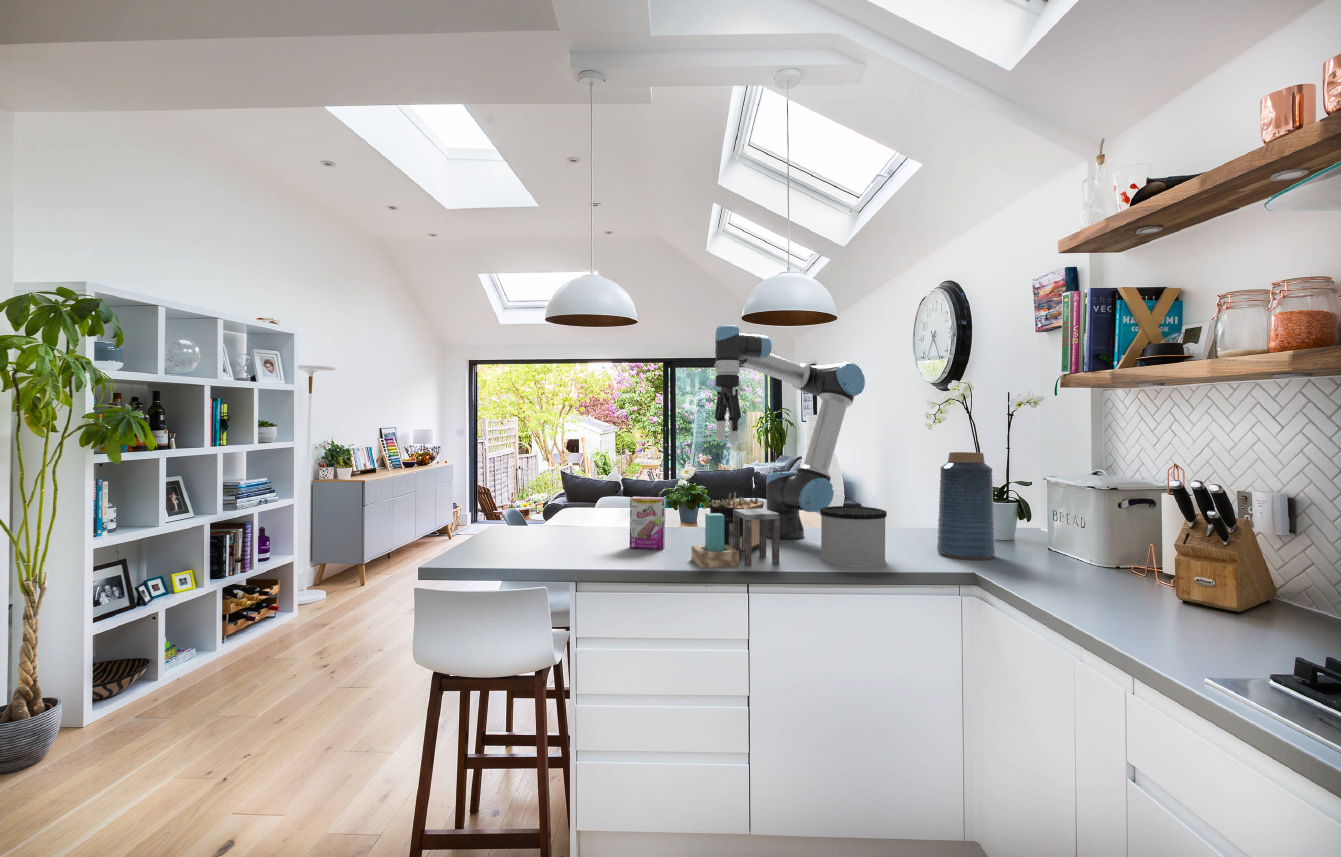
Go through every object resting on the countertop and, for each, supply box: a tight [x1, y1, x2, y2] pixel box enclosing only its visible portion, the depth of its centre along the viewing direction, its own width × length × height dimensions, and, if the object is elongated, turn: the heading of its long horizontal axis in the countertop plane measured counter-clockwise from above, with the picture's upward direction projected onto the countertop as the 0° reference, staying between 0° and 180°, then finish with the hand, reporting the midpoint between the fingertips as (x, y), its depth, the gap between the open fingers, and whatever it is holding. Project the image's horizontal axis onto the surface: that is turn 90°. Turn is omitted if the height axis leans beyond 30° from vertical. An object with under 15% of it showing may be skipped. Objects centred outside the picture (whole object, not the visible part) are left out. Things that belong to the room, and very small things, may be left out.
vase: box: [936, 451, 996, 561], centre depth 196 cm, size 16×16×32 cm
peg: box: [704, 512, 724, 552], centre depth 185 cm, size 4×4×14 cm
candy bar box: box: [629, 496, 666, 550], centre depth 207 cm, size 11×5×16 cm, turn 84°
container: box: [819, 505, 888, 568], centre depth 188 cm, size 19×19×15 cm
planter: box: [709, 491, 765, 557], centre depth 205 cm, size 25×25×19 cm
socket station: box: [691, 508, 780, 568], centre depth 186 cm, size 23×12×14 cm, turn 102°
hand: (727, 441), depth 203 cm, fingers open, 13 cm apart
